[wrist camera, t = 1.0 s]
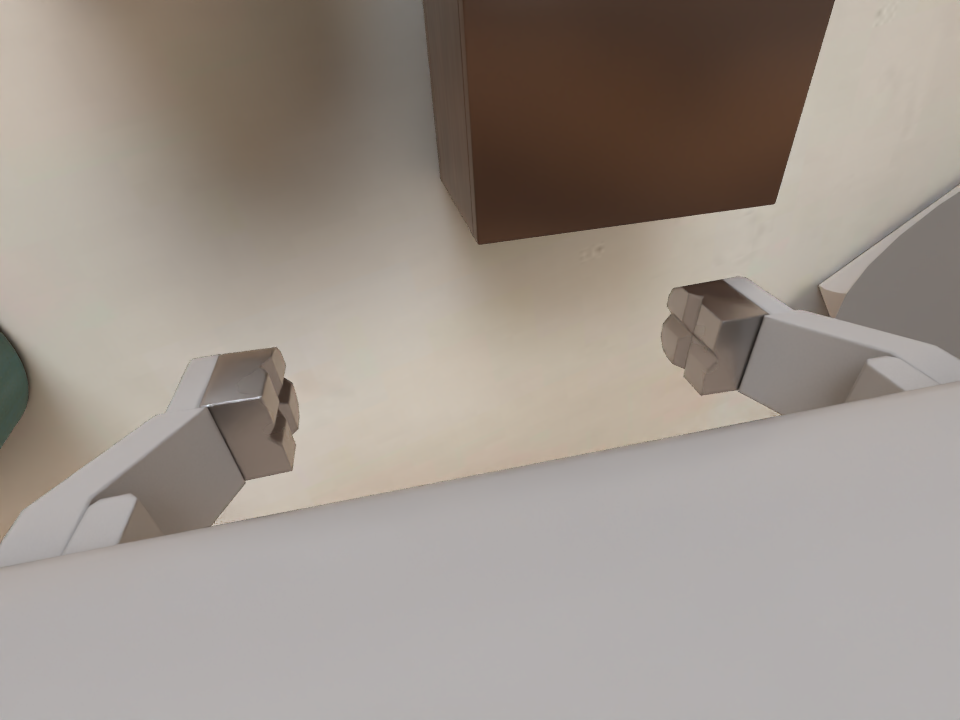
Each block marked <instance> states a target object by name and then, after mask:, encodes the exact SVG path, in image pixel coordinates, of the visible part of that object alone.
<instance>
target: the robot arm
mask: <svg viewBox="0 0 960 720" xmlns="http://www.w3.org/2000/svg"><path fill="white" fill-rule="evenodd" d="M667 307H668V309H669V311H670V312H671V315H670V316H669V317H668V318H667V319H666V321H665V322H664V323H663V326H662V332H661V341H662V348H663V350H664V352H665V355H666V357H667V358H668V359H669V360H670V361H671V363H672V364H674V365H676V366H679V367H681V368H684V369H685V370H684V377H685V379H686V380H687V381H688V382H689V383H690V384H691V385H692V386H693V387H694V389H695V390H696V391H697V392H698V393H699V394H700V395H701V396H702V395H708V394H714V393H721V392H727V391H734V390H738V392H740V393H742V394H744V395H746V396H748V397H750V398H751V399H753V400H755V401H757V402H759V403H761V404H763V405H765V406H767V407H768V408H770V409H772V410H774V411H776V412H778V413H780V414H782V415H781V416H776V417H771V418H766V419H760V420H755V421H750V422H745V423H740V424H735V425H730V426H724V427H719V428H714V429H709V430H704V431H699V432H694V433H688V434H683V435H678V436H673V437H668V438H663V439H658V440H652V441H647V442H642V443H637V444H632V445H627V446H622V447H617V448H612V449H607V450H601V451H596V452H591V453H586V454H581V455H576V456H571V457H565V458H560V459H555V460H550V461H545V462H540V463H535V464H529V465H524V466H519V467H514V468H509V469H504V470H499V471H493V472H488V473H483V474H478V475H473V476H468V477H462V478H457V479H452V480H447V481H442V482H437V483H432V484H426V485H421V486H416V487H411V488H406V489H401V490H396V491H390V492H385V493H380V494H375V495H370V496H365V497H360V498H354V499H349V500H344V501H339V502H334V503H329V504H324V505H318V506H313V507H308V508H303V509H298V510H293V511H288V512H282V513H277V514H272V515H267V516H262V517H257V518H252V519H246V520H241V521H236V522H231V523H226V524H221V525H216V526H211V525H212V524H213V523H214V522H215V520H216V519H217V518H218V517H219V515H220V514H221V513H222V512H223V511H224V509H225V508H226V507H227V506H228V504H229V503H230V502H231V501H232V499H233V498H234V497H235V496H236V494H237V493H238V492H239V491H240V489H241V488H242V487H243V486H244V484H245V481H246V480H251V479H255V478H260V477H265V476H270V475H274V474H279V473H284V472H289V471H292V470H293V463H294V456H295V449H296V444H295V441H294V438H293V436H292V434H293V433H294V432H295V431H296V430H297V429H298V426H299V406H298V400H297V396H296V392H295V389H294V386H293V383H292V382H290V381H289V380H287V379H286V378H284V374H285V368H286V364H285V361H284V359H283V356H282V354H281V351H280V350H279V349H278V348H277V347H272V348H265V349H257V350H249V351H242V352H234V353H227V354H222V355H221V354H217V355H211V356H205V357H199V358H194V359H192V360H190V361H189V363H188V365H187V367H186V369H185V372H184V374H183V376H182V378H181V380H180V382H179V384H178V386H177V388H176V391H175V393H174V395H173V397H172V399H171V401H170V403H169V405H168V407H167V410H166V412H165V413H164V414H158V415H155V416H153V417H152V418H151V419H149V420H148V421H146V422H145V423H144V424H142V425H141V426H139V427H138V428H137V429H135V430H134V431H132V432H131V433H130V434H128V435H127V436H125V437H124V438H123V439H121V440H120V441H118V442H117V443H116V444H114V445H113V446H111V447H110V448H109V449H107V450H106V451H104V452H103V453H102V454H100V455H99V456H97V457H96V458H95V459H93V460H92V461H91V462H89V463H88V464H86V465H85V466H84V467H82V468H81V469H79V470H78V471H77V472H75V473H74V474H72V475H71V476H70V477H68V478H67V479H65V480H64V481H63V482H61V483H60V484H58V485H57V486H56V487H54V488H53V489H51V490H50V491H49V492H47V493H46V494H44V495H43V496H42V497H40V498H39V499H37V500H36V501H35V502H33V503H32V504H30V505H29V506H28V507H26V508H25V509H23V510H22V511H21V513H20V514H19V516H18V517H17V519H16V520H15V522H14V523H13V525H12V526H11V528H10V529H9V531H8V532H7V534H6V535H5V537H4V538H3V540H2V541H1V543H0V720H960V359H958V358H956V357H955V356H953V355H951V354H950V353H948V352H946V351H944V350H943V349H941V348H939V347H938V346H936V345H932V344H928V343H925V342H921V341H917V340H913V339H910V338H906V337H902V336H898V335H895V334H891V333H887V332H883V331H880V330H876V329H872V328H868V327H865V326H861V325H857V324H853V323H850V322H846V321H842V320H838V319H835V318H831V317H827V316H823V315H820V314H816V313H812V312H808V311H805V310H795V311H794V310H793V309H791V308H790V307H788V306H787V305H786V304H784V303H783V302H781V301H780V300H778V299H777V298H775V297H774V296H772V295H771V294H770V293H768V292H767V291H765V290H764V289H762V288H761V287H759V286H758V285H756V284H755V283H754V282H752V281H751V280H749V279H748V278H746V277H741V276H736V277H731V278H726V279H721V280H716V281H710V282H705V283H699V284H693V285H688V286H682V287H677V288H673V289H672V291H671V293H670V294H669V297H668V302H667Z"/></svg>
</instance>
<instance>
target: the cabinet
mask: <svg viewBox="0 0 960 720" xmlns="http://www.w3.org/2000/svg"><path fill="white" fill-rule="evenodd" d="M834 1H835V0H423V9H424V19H425V29H426V39H427V49H428V59H429V69H430V79H431V89H432V99H433V109H434V119H435V129H436V139H437V149H438V159H439V169H440V179H441V181H442V182H443V184H444V186H445V187H446V189H447V191H448V193H449V194H450V196H451V198H452V200H453V201H454V203H455V205H456V207H457V208H458V210H459V212H460V214H461V216H462V217H463V219H464V221H465V223H466V224H467V226H468V228H469V230H470V231H471V233H472V235H473V237H474V238H475V240H476V242H477V243H478V244H479V245H481V244H488V243H496V242H503V241H510V240H517V239H525V238H532V237H539V236H547V235H554V234H561V233H568V232H576V231H583V230H590V229H597V228H605V227H612V226H619V225H626V224H634V223H641V222H648V221H656V220H663V219H670V218H677V217H685V216H692V215H699V214H706V213H714V212H721V211H728V210H735V209H743V208H750V207H757V206H764V205H772V204H775V202H776V199H777V195H778V192H779V188H780V185H781V182H782V178H783V175H784V171H785V168H786V165H787V161H788V158H789V154H790V151H791V148H792V144H793V141H794V137H795V134H796V131H797V127H798V124H799V120H800V117H801V114H802V110H803V107H804V103H805V100H806V97H807V93H808V90H809V86H810V83H811V80H812V76H813V73H814V69H815V66H816V63H817V59H818V56H819V52H820V49H821V46H822V42H823V39H824V35H825V32H826V29H827V25H828V22H829V18H830V15H831V12H832V8H833V5H834Z"/></svg>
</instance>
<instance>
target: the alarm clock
mask: <svg viewBox="0 0 960 720" xmlns="http://www.w3.org/2000/svg"><path fill="white" fill-rule="evenodd" d="M818 286H819V288H820V291H821V294H822V296H823V299H824V302H825V304H826V307H827V310H828V312H829V315H830V317H831V318H835V319H838V320H842V321H846V322H850V323H853V324H857V325H861V326H865V327H868V328H872V329H876V330H880V331H883V332H887V333H891V334H895V335H898V336H902V337H906V338H910V339H913V340H917V341H921V342H925V343H928V344H932V345H936V346H938V347H939V348H941V349H943V350H944V351H946V352H948V353H950V354H951V355H953V356H955V357H956V358H958V359H960V185H958V186H957V187H955V188H954V189H953V190H951V191H950V192H948V193H947V194H946V195H944V196H943V197H941V198H940V199H938V200H937V201H936V202H934V203H933V204H931V205H930V206H929V207H927V208H926V209H924V210H923V211H922V212H920V213H919V214H917V215H916V216H915V217H913V218H912V219H910V220H909V221H908V222H906V223H905V224H903V225H902V226H901V227H899V228H898V229H896V230H895V231H894V232H892V233H891V234H889V235H888V236H887V237H885V238H884V239H882V240H881V241H880V242H878V243H877V244H875V245H874V246H873V247H871V248H870V249H868V250H867V251H866V252H864V253H863V254H861V255H860V256H859V257H857V258H856V259H854V260H853V261H852V262H850V263H849V264H847V265H846V266H845V267H843V268H842V269H840V270H839V271H838V272H836V273H835V274H833V275H832V276H831V277H829V278H828V279H826V280H825V281H824V282H822V283H821V284H819V285H818Z"/></svg>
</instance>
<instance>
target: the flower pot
mask: <svg viewBox="0 0 960 720" xmlns="http://www.w3.org/2000/svg"><path fill="white" fill-rule="evenodd" d="M27 401H28V381H27V376H26V373H25V370H24V367H23V364H22V362H21V360H20V358H19V357H18V355H17V353H16V351H15V350H14V348H13V347H12V345H11V344H10V343H9V341H8V340H7V339H6V337H5V336H4V335H3V334H2V333H1V332H0V448H1V447H2V446H3V444H4V443H5V441H6V440H7V438H8V436H9V435H10V433H11V432H12V430H13V429H14V427H15V426H16V424H17V423H18V421H19V420H20V418H21V416H22V415H23V413H24V411H25V409H26V405H27Z"/></svg>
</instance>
